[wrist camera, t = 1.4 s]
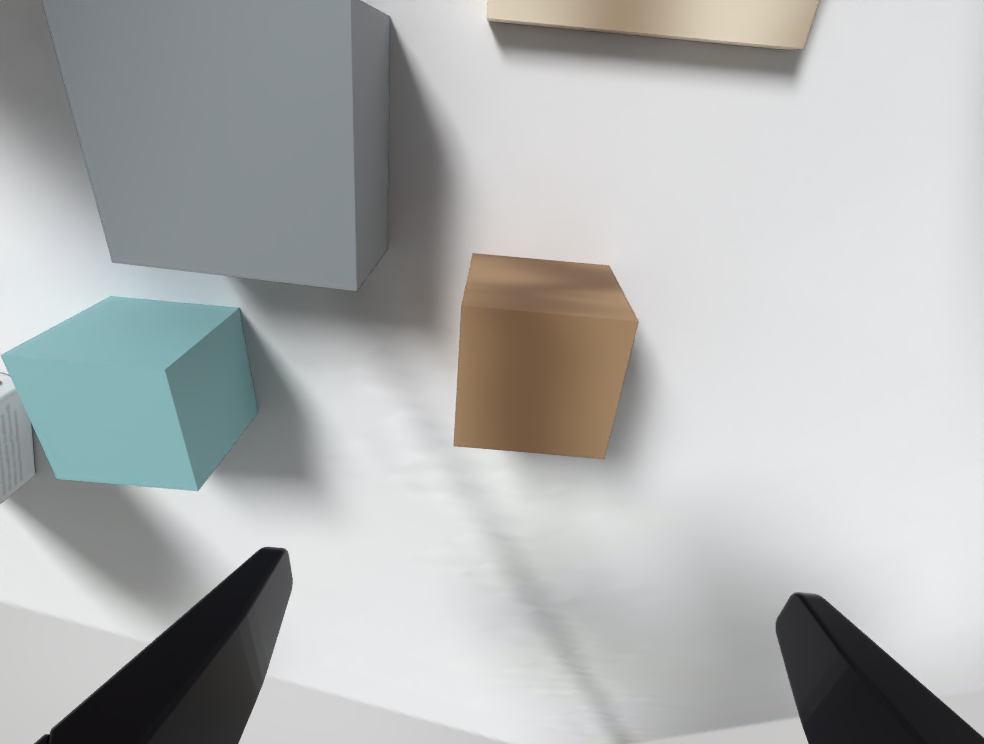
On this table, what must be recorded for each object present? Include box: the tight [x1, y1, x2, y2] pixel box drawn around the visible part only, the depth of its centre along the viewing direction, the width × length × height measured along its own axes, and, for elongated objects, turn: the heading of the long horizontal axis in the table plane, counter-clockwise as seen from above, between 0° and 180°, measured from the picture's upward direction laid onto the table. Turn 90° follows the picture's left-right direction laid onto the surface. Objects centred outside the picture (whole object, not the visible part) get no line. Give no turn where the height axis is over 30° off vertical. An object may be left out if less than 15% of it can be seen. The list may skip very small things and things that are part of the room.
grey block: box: [42, 0, 390, 291], centre depth 15 cm, size 7×7×4 cm
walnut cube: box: [454, 253, 638, 459], centre depth 18 cm, size 5×5×5 cm
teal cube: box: [1, 296, 258, 491], centre depth 19 cm, size 5×5×5 cm
